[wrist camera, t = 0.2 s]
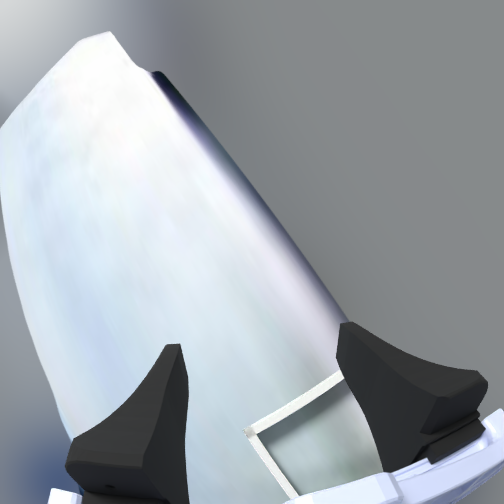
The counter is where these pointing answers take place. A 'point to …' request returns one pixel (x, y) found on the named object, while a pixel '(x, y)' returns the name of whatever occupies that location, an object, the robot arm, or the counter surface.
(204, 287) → the counter surface
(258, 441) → the u-shaped white bracket
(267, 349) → the counter surface
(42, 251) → the counter surface
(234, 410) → the counter surface
